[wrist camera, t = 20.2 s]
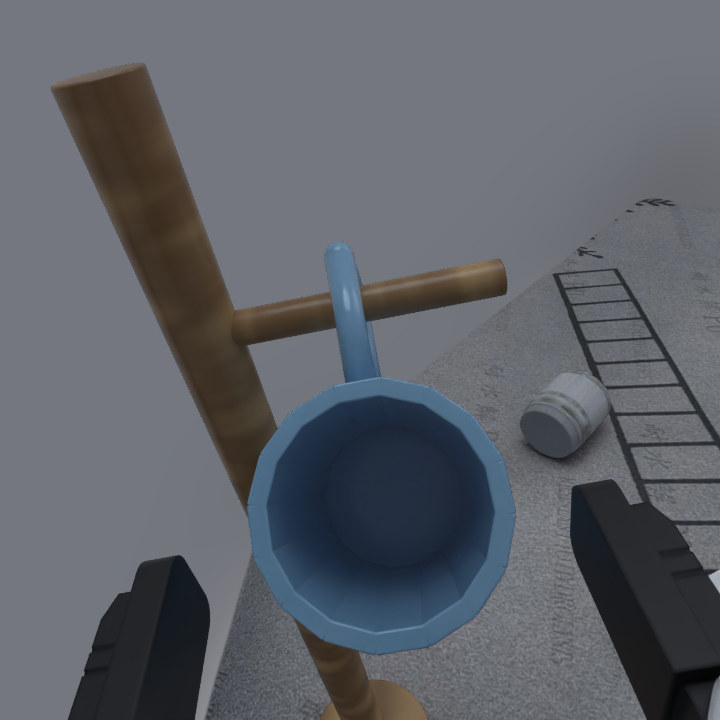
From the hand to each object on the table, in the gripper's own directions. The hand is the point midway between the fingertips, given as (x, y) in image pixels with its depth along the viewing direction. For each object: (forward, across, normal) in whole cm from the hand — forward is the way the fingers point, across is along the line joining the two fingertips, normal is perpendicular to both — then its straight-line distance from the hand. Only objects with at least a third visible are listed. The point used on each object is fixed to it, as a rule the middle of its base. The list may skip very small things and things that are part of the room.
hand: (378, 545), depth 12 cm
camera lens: (+32, -14, +30) cm, 46 cm away
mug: (+10, 0, +7) cm, 12 cm away
